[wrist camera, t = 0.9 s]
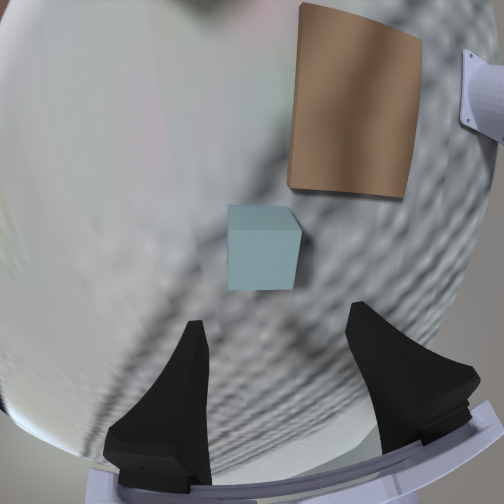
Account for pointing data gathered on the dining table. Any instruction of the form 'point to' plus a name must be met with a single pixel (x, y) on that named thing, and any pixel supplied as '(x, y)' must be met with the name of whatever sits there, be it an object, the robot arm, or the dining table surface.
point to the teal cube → (261, 247)
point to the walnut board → (353, 104)
